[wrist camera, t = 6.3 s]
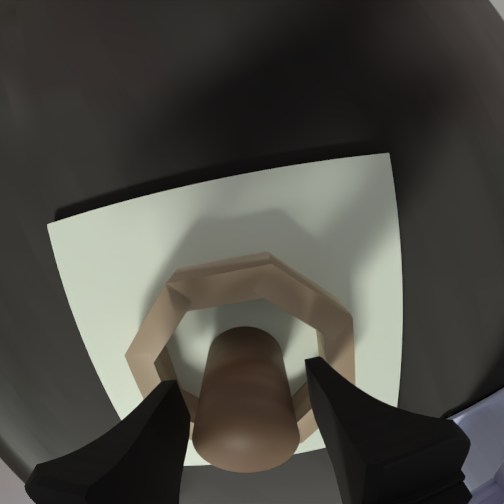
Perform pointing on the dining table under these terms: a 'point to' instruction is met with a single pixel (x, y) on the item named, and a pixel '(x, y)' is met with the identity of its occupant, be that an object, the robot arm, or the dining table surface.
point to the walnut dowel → (245, 404)
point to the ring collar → (234, 291)
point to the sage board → (236, 245)
